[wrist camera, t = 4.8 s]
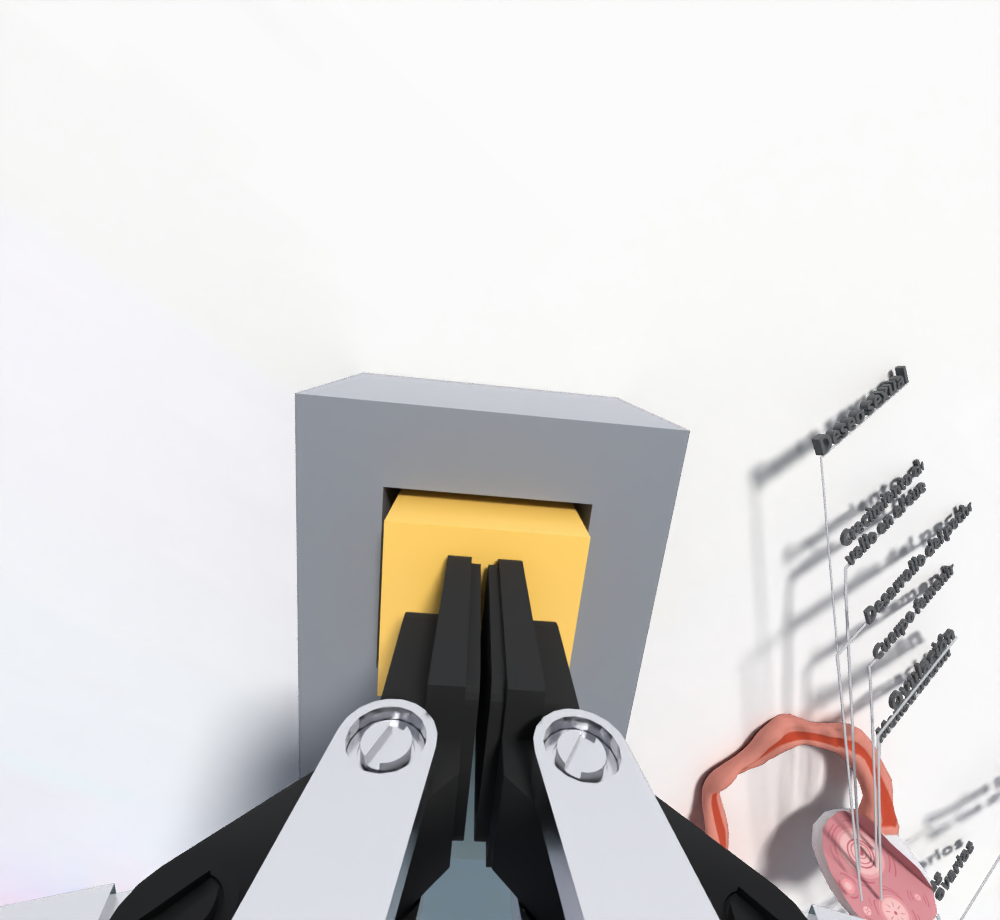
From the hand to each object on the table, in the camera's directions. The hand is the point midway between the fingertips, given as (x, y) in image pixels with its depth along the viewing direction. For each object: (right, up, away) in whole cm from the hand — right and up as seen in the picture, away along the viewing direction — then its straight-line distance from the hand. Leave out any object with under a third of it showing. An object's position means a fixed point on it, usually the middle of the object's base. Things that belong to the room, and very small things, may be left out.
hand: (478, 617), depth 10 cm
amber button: (0, +1, +4) cm, 4 cm away
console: (-1, -5, +9) cm, 11 cm away
